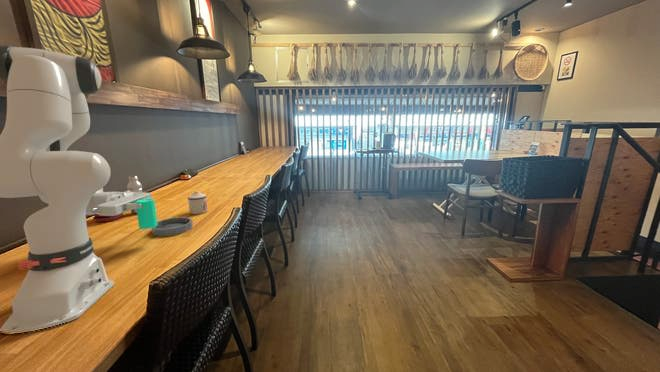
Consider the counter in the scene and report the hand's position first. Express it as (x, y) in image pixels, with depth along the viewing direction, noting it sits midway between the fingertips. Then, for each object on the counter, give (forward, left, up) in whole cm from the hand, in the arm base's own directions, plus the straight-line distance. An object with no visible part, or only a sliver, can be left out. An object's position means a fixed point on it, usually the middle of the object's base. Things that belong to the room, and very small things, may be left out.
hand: (147, 203), depth 99 cm
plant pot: (+41, +29, -17) cm, 53 cm away
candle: (0, +1, -9) cm, 9 cm away
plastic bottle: (+47, +18, -17) cm, 53 cm away
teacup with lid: (+39, -12, -17) cm, 45 cm away
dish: (+14, -4, -16) cm, 22 cm away
